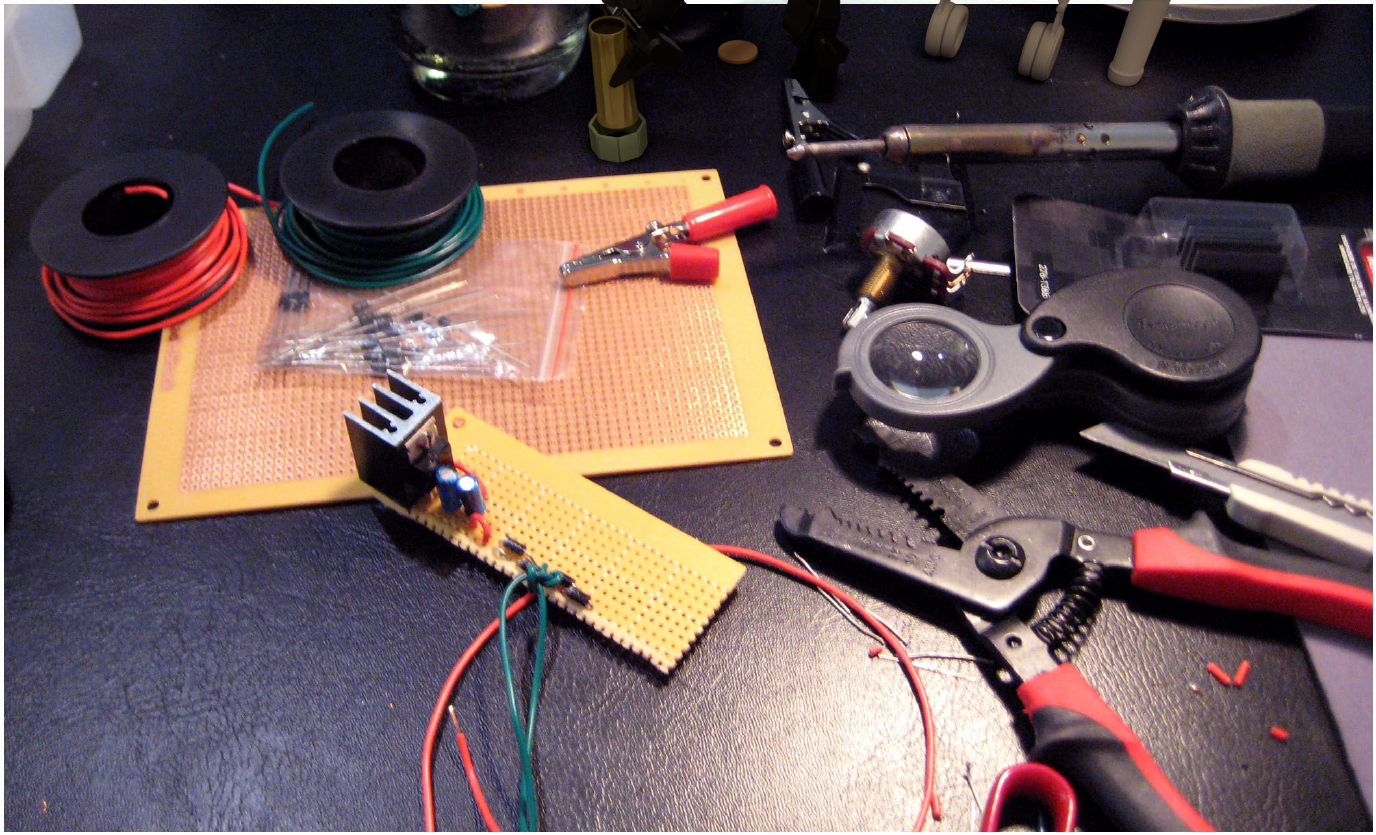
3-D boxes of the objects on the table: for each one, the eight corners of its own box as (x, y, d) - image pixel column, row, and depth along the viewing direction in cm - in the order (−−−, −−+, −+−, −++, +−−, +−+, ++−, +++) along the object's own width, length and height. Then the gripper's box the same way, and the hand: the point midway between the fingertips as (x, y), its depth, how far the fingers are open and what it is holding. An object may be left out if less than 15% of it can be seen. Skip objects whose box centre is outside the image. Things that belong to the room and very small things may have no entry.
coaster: (762, 46, 156) (762, 43, 155) (751, 66, 152) (751, 63, 152) (724, 41, 157) (724, 37, 157) (713, 61, 154) (713, 57, 153)
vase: (637, 129, 134) (628, 36, 122) (595, 130, 134) (582, 37, 123) (639, 105, 137) (631, 13, 126) (598, 106, 138) (587, 14, 126)
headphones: (919, 63, 151) (941, -58, 136) (935, 39, 156) (958, -81, 141) (1042, 92, 145) (1079, -32, 130) (1055, 66, 150) (1092, -57, 135)
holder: (653, 135, 141) (652, 112, 138) (634, 165, 136) (632, 142, 133) (604, 126, 142) (602, 103, 139) (584, 156, 138) (581, 133, 135)
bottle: (1136, 69, 148) (1199, -96, 129) (1143, 87, 145) (1208, -80, 126) (1103, 68, 149) (1160, -96, 129) (1109, 86, 146) (1168, -80, 126)
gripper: (602, -82, 123) (537, 17, 129) (657, -23, 112) (583, 82, 119) (660, -37, 131) (596, 55, 137) (716, 23, 120) (644, 120, 127)
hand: (603, 76), depth 130 cm, fingers closed on vase, 5 cm apart
